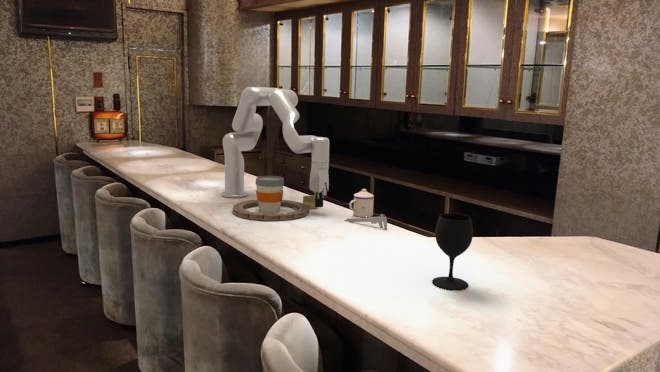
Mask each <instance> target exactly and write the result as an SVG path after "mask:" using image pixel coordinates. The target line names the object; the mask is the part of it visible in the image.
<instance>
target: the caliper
mask: <svg viewBox="0 0 660 372" xmlns="http://www.w3.org/2000/svg"><path fill="white" fill-rule="evenodd" d="M343 221H344V222H347V221H348V222H347V223H371V224H372V225H374V224H378V226H379V228H383V229H385V230H387V229H388V219H387V216H386V215H385V214H383V213H380V216H371V217H356V218H353V217H352V218H348V217H347V218H346V219H344V220H343Z"/></svg>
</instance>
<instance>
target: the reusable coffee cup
mask: <svg viewBox="0 0 660 372" xmlns="http://www.w3.org/2000/svg"><path fill="white" fill-rule="evenodd" d="M255 185H256V190H255V193H256V194H255V195H256V200H257V201H258V204H259V206H258V210H259V211H258V213H265V214H278V213H281V212H280V210H281V206H280V205H281V201H282V200H283V197H284V185H285V179H284V177H283V176H277V175H259V176H257V177H255Z"/></svg>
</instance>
